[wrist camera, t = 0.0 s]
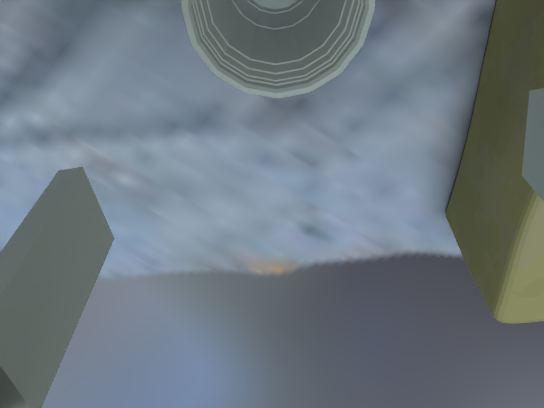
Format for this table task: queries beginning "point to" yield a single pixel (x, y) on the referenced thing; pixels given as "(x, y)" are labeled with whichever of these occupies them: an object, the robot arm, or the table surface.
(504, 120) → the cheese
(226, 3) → the plastic cup
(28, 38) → the table surface
